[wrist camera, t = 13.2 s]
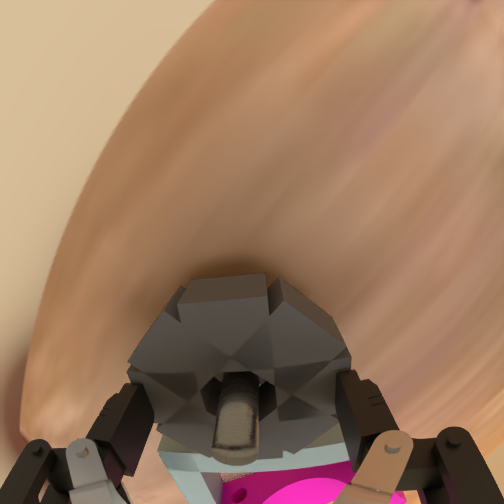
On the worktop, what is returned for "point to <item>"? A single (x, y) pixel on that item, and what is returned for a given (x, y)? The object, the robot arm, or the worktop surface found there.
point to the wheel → (242, 361)
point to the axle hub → (237, 419)
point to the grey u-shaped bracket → (207, 469)
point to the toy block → (294, 486)
